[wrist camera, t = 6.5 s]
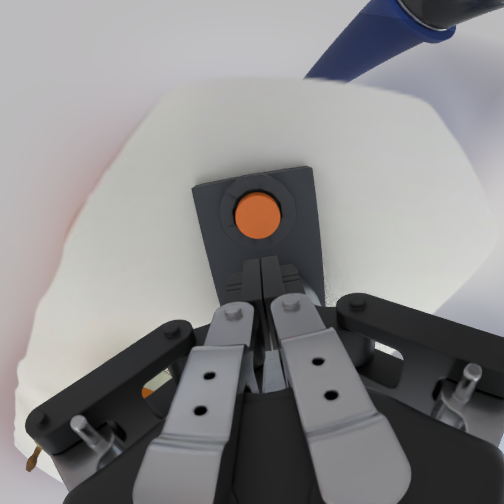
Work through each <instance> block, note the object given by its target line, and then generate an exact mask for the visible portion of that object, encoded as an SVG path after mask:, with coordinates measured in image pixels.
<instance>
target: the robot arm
mask: <svg viewBox="0 0 504 504" xmlns="http://www.w3.org/2000/svg"><path fill="white" fill-rule="evenodd" d="M395 1H396V2H397V4H398V5H399V7H400V8H401V9H402V10H403V12H404V13H405V14H406V15H407V16H408V17H409V18H411V19H412V20H413V21H414V22H416V23H417V24H418V25H420V26H422V27H423V28H425V29H428V30H430V31H434V32H442V31H445V30H447V29H449V28H451V27H452V26H454V25H456V24H459V23H462V22H464V21H467V20H470V19H472V18H474V17H477V16H479V15H482V14H485V13H488V12H491V11H493V10H497V9H500V8H503V7H504V0H395ZM261 267H262V268H261ZM270 334H271V338H270ZM271 340H272V345H273V350H278V354H279V360H280V366H281V370H282V375H283V379H284V383H285V389H282V390H279V391H276V392H273V393H270V394H265V380H266V364H265V359H266V353H265V352H266V351H272V349H271ZM375 341H376V342H379V343H381V344H384V345H386V346H389V347H391V348H394V349H396V350H398V351H399V352H400V353H401V354H402V356H403V359H404V360H401V359H399V358H396V357H394V356H392V355H389V354H387V353H384V352H382V351H380V350H377V349H375ZM166 368H168V370H169V372H170V374H171V376H172V378H171V379H169V380H168V381H167V382H166V383H164V384H163V385H162V386H160V387H159V388H158V389H156V390H155V391H154V392H153V393H151V394H150V395H149V396H147V397H146V398H143V396H142V389H143V387H144V385H145V384H146V383H147V382H149V381H150V380H152V379H153V378H154V377H156V376H157V375H158V374H160V373H161V372H162V371H164V370H165V369H166ZM25 429H26V432H27V433H28V434H29V436H30V437H31V438H32V439H33V440H34V441H36V442H37V443H38V444H39V445H40V446H41V447H42V448H43V450H44V451H45V452H46V453H47V454H48V455H49V456H50V457H51V458H52V460H53V462H54V464H55V466H56V468H57V470H58V472H59V474H60V476H61V478H62V480H63V482H64V484H65V485H66V487H67V489H68V491H69V493H68V495H67V496H66V498H65V500H64V502H63V504H504V454H503V453H502V451H501V450H500V449H499V448H498V446H499V444H500V441H501V438H502V435H503V433H504V337H500V336H497V335H494V334H491V333H488V332H485V331H482V330H478V329H475V328H472V327H469V326H466V325H463V324H459V323H456V322H453V321H450V320H447V319H444V318H441V317H437V316H434V315H431V314H428V313H425V312H422V311H419V310H416V309H412V308H409V307H406V306H403V305H400V304H397V303H394V302H391V301H387V300H384V299H381V298H378V297H375V296H372V295H369V294H365V293H352V294H348V295H345V296H343V297H341V298H340V299H339V300H338V301H337V304H336V307H323V306H318V305H315V304H313V302H312V300H311V298H310V297H309V296H307V295H306V293H305V290H304V287H303V284H302V281H301V278H300V275H299V272H298V269H297V268H296V267H295V266H293V265H292V264H287V265H281V266H279V262H278V258H277V255H275V256H269V257H263V258H261V263H260V258H257V259H251V260H245V261H243V272H237V273H233V274H232V275H231V276H230V277H229V278H228V280H227V287H226V292H225V298H224V304H223V306H221V307H220V308H218V309H217V310H216V311H215V313H214V316H213V319H212V322H211V323H210V324H208V325H205V326H202V327H199V328H196V329H193V328H192V325H191V323H190V322H188V321H186V320H173V321H169V322H167V323H165V324H163V325H161V326H159V327H158V328H157V329H155V330H154V331H152V332H151V333H149V334H148V335H146V336H145V337H143V338H142V339H140V340H139V341H137V342H136V343H134V344H133V345H131V346H130V347H128V348H127V349H125V350H124V351H122V352H121V353H119V354H117V355H116V356H114V357H113V358H111V359H110V360H108V361H107V362H105V363H104V364H102V365H101V366H99V367H98V368H96V369H95V370H93V371H92V372H90V373H89V374H87V375H86V376H84V377H83V378H81V379H80V380H78V381H76V382H75V383H73V384H72V385H70V386H69V387H67V388H66V389H64V390H63V391H61V392H60V393H58V394H57V395H55V396H53V397H52V398H50V399H49V400H47V401H46V402H44V403H43V404H41V405H40V406H38V407H36V408H35V409H34V410H33V411H32V412H31V413H30V414H29V415H28V417H27V419H26V423H25Z"/></svg>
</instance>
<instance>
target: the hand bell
mask: <svg viewBox="0 0 504 504" xmlns="http://www.w3.org/2000/svg"><path fill="white" fill-rule="evenodd" d="M35 443H36V444H37V447H36V449H35V451H34V453H33V455H32V456H30V458H29V459H28V461H27V466H26V470H27V471H28V472H30V471H31V470H32V469H33V468H34V467H35V466H36V463H37V457H38V455H39V454H40V452H41V450H42V449H43V448H42V447H41V446H40V445H39V444H38V443H37V442H36V441H35Z"/></svg>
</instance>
